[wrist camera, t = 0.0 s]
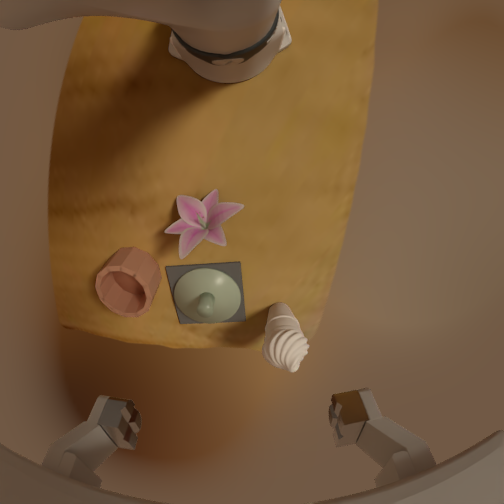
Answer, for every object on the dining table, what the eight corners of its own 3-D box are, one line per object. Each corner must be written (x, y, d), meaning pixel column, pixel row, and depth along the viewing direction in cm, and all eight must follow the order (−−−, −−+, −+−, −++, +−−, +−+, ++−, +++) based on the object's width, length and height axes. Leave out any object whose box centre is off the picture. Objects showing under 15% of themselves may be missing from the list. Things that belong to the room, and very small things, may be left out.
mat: (166, 266, 51) (165, 267, 51) (240, 261, 51) (240, 262, 51) (180, 322, 57) (180, 323, 57) (245, 319, 57) (245, 321, 57)
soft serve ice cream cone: (251, 317, 57) (254, 378, 43) (272, 287, 54) (281, 348, 40) (285, 329, 59) (295, 388, 45) (307, 302, 56) (324, 361, 42)
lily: (254, 199, 47) (242, 187, 37) (237, 267, 48) (220, 271, 38) (191, 186, 49) (167, 172, 40) (175, 249, 50) (147, 248, 40)
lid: (168, 269, 51) (162, 283, 47) (237, 265, 51) (237, 279, 47) (182, 321, 57) (178, 337, 53) (243, 319, 57) (243, 335, 53)
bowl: (103, 249, 49) (88, 267, 43) (153, 245, 49) (142, 264, 43) (118, 295, 54) (107, 316, 48) (166, 294, 54) (158, 317, 48)
